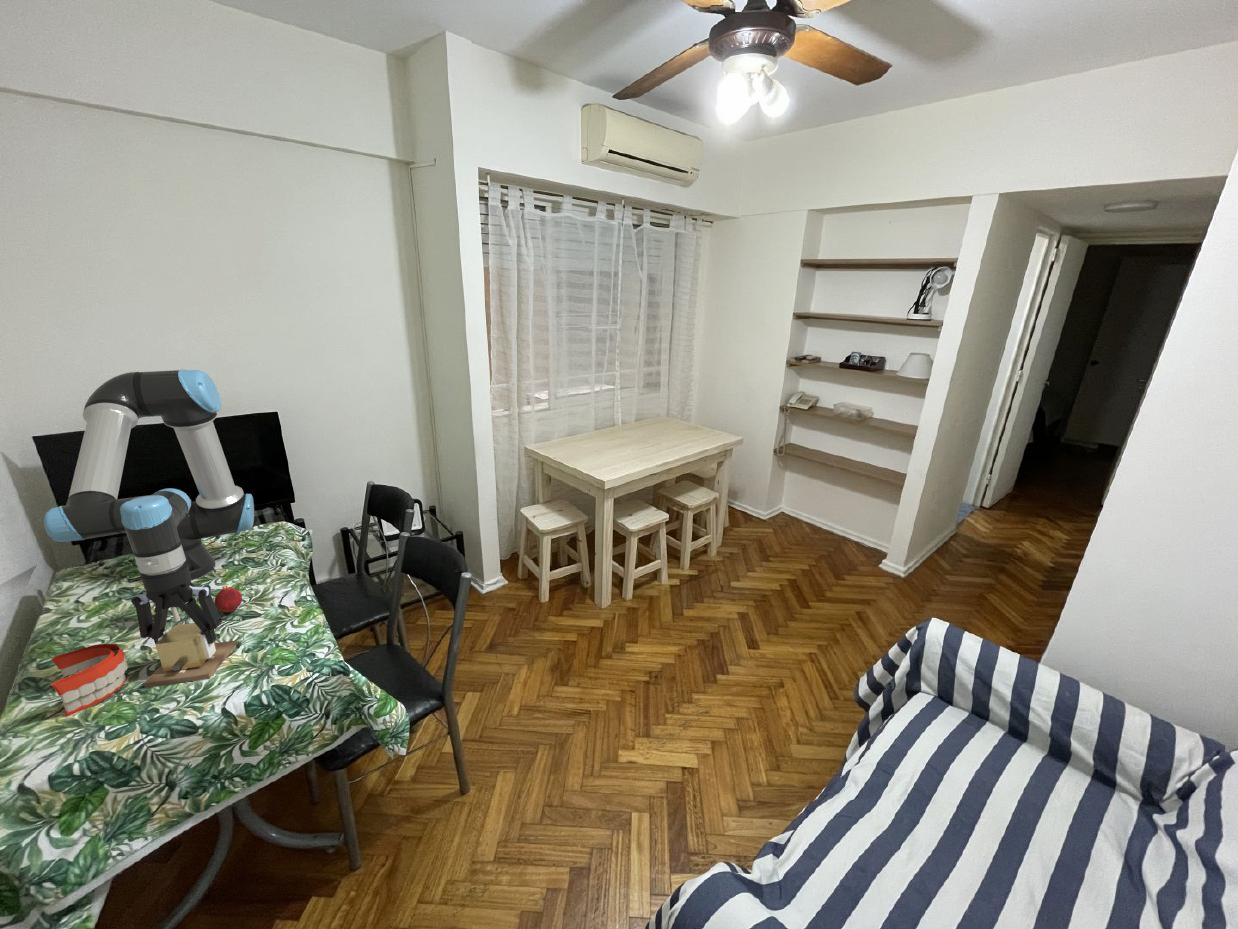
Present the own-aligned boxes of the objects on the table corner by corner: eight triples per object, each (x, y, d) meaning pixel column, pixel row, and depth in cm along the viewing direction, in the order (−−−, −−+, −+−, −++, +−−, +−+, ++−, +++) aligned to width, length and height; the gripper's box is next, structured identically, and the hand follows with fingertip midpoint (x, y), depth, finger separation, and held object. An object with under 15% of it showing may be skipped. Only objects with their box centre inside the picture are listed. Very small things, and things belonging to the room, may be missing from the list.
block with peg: (186, 646, 116) (179, 621, 114) (221, 642, 117) (213, 617, 115) (159, 676, 106) (150, 649, 104) (196, 671, 108) (188, 644, 106)
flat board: (178, 652, 117) (171, 630, 115) (236, 644, 119) (230, 622, 118) (145, 688, 106) (136, 664, 104) (209, 678, 108) (202, 655, 106)
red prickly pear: (249, 609, 133) (242, 583, 131) (224, 620, 129) (217, 594, 126) (238, 603, 136) (232, 578, 134) (214, 614, 132) (206, 588, 129)
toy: (136, 691, 105) (125, 659, 102) (64, 719, 97) (50, 686, 95) (130, 664, 113) (119, 634, 111) (64, 688, 106) (51, 657, 103)
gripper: (94, 582, 99) (127, 676, 106) (208, 570, 104) (233, 661, 111) (120, 564, 106) (150, 653, 113) (226, 554, 111) (249, 640, 118)
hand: (191, 657), depth 112 cm, fingers closed on block with peg, 7 cm apart
